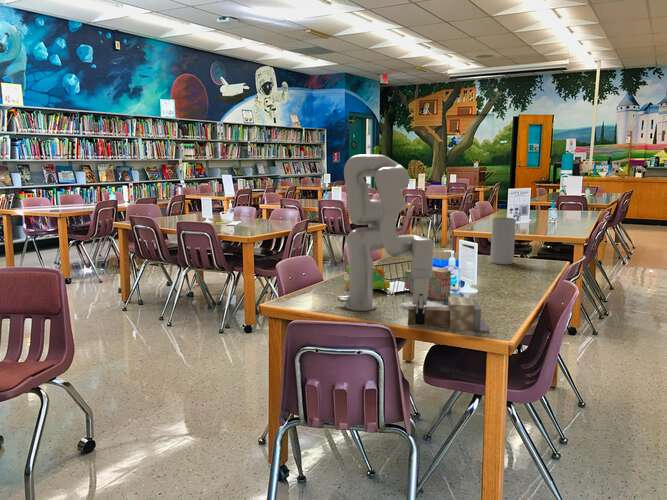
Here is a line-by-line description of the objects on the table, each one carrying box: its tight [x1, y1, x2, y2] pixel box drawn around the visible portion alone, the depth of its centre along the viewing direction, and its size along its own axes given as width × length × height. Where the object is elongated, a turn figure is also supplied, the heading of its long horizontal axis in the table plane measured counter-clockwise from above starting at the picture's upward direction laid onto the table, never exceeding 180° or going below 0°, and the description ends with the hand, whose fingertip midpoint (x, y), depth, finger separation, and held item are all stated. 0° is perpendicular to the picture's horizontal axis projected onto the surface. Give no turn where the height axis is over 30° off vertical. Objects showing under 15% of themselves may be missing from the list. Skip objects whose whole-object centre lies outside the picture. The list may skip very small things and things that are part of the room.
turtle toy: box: [345, 264, 391, 291], centre depth 263 cm, size 17×23×12 cm
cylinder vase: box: [490, 216, 517, 266], centre depth 327 cm, size 12×12×25 cm
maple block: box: [447, 296, 475, 331], centre depth 208 cm, size 8×11×9 cm
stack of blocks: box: [404, 266, 452, 301], centre depth 253 cm, size 21×6×12 cm, turn 38°
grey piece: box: [471, 298, 490, 333], centre depth 207 cm, size 5×14×8 cm, turn 174°
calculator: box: [399, 300, 448, 310], centre depth 230 cm, size 13×20×2 cm, turn 41°
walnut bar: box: [407, 306, 450, 328], centre depth 209 cm, size 18×5×6 cm, turn 83°
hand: (419, 321), depth 210 cm, fingers closed on walnut bar, 4 cm apart
